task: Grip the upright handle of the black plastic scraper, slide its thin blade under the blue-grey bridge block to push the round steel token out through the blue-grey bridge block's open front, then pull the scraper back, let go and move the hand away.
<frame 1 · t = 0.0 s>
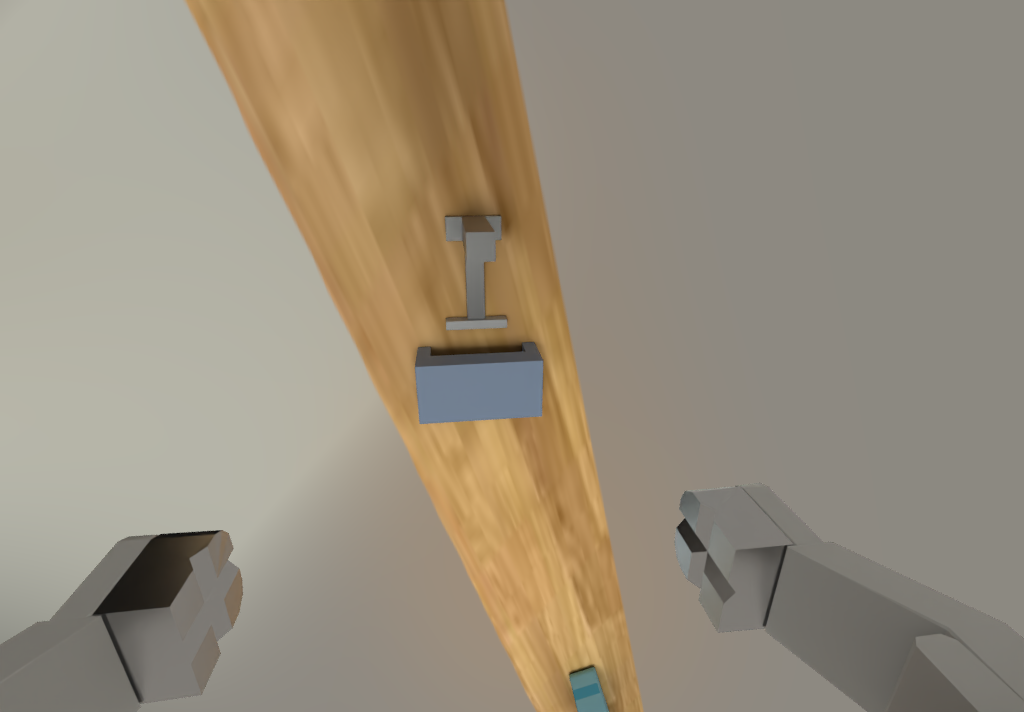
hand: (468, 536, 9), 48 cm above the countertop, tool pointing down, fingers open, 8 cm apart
blue-grey bridge block: (477, 371, 60), on the countertop
data package: (587, 686, 85), on the countertop
scraper: (473, 227, 54), on the countertop
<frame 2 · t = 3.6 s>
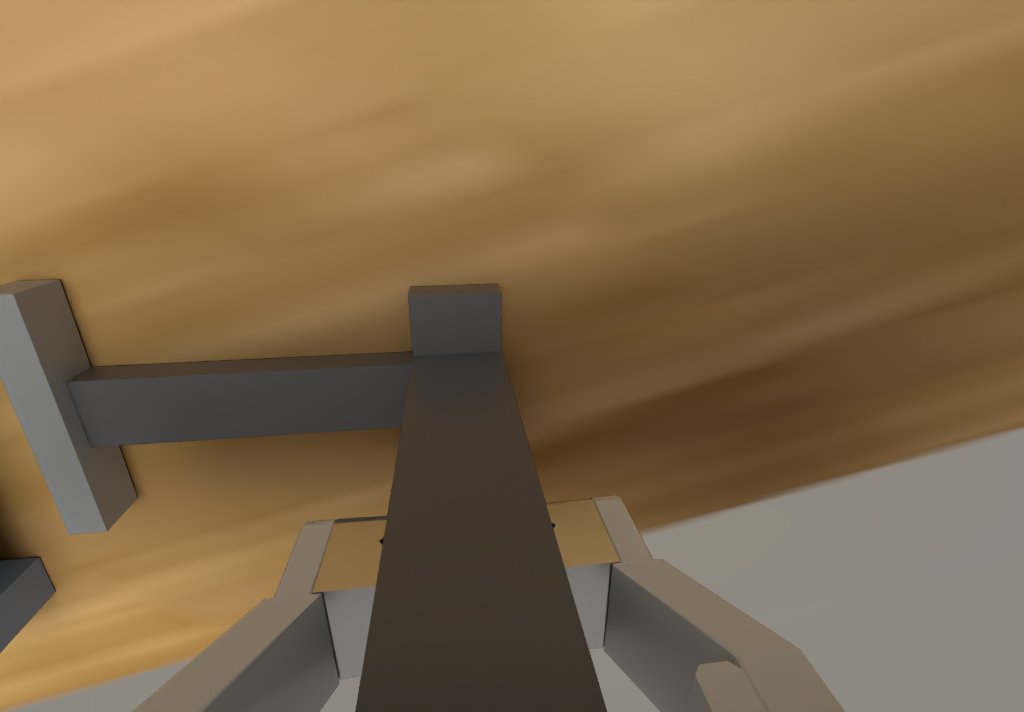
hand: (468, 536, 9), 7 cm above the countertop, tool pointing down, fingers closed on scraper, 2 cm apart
scraper: (458, 379, 15), on the countertop, touching gripper
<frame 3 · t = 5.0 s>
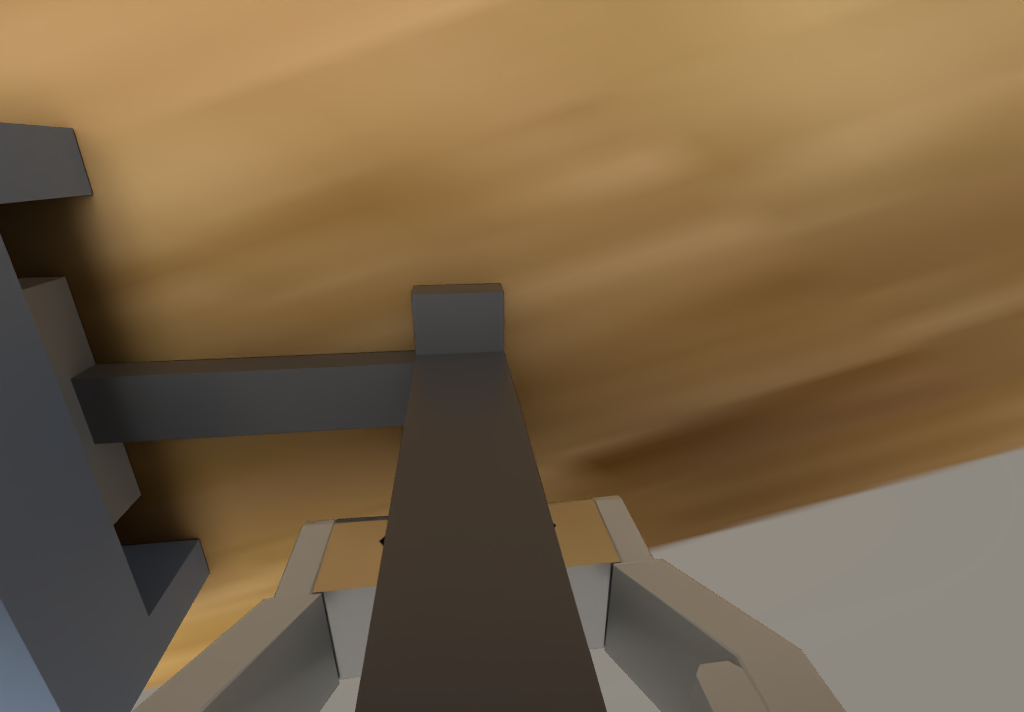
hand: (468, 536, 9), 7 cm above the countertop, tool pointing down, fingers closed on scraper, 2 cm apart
blue-grey bridge block: (21, 398, 14), on the countertop
scraper: (461, 378, 15), on the countertop, touching gripper, steel token
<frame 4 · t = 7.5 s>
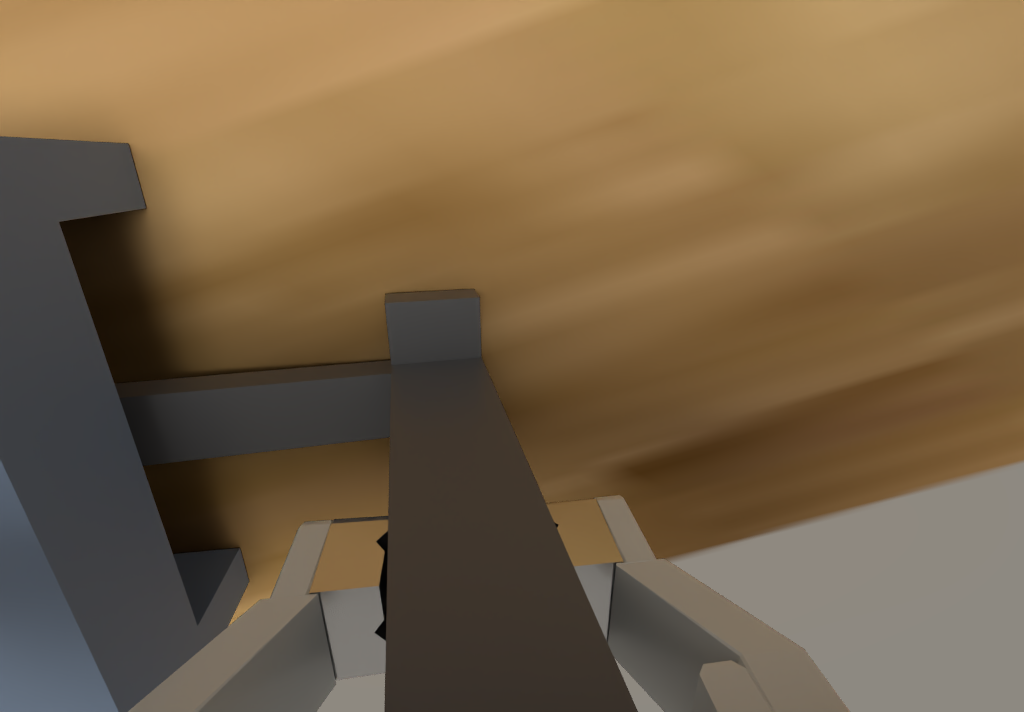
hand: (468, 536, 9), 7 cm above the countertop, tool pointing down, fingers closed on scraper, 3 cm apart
blue-grey bridge block: (70, 409, 14), on the countertop
scraper: (437, 386, 15), on the countertop, tilted 6°, touching gripper
when the fingers open (7 cm above the countertop, at t = 8.7 s): scraper stays where it is, on the countertop.
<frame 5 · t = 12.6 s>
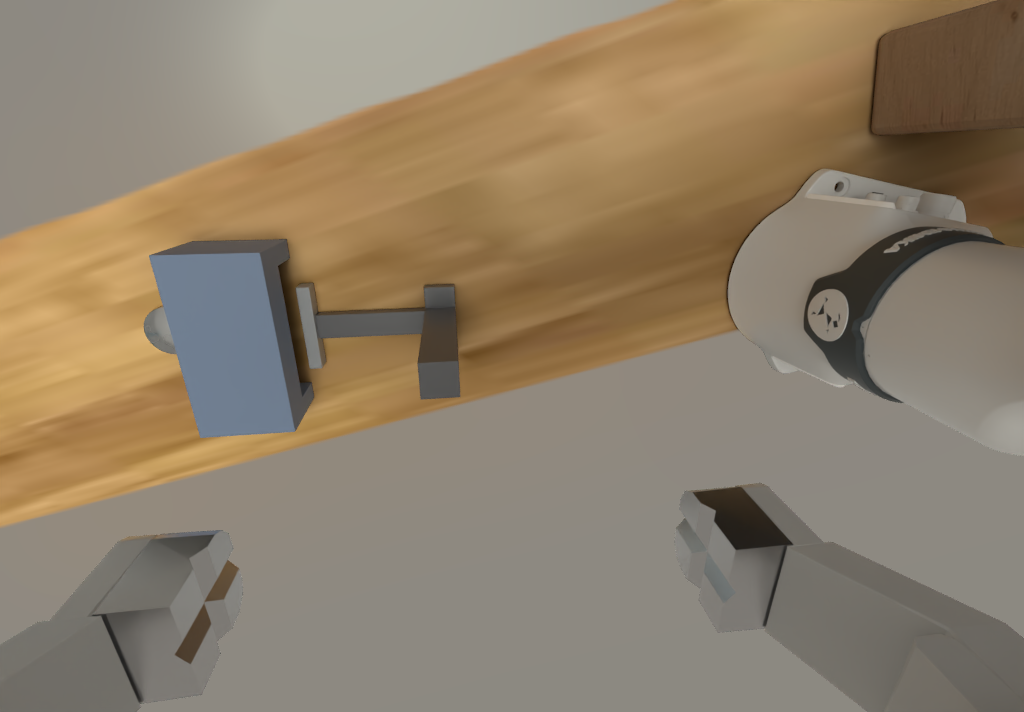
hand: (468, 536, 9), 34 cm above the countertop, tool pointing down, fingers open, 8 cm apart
decorative block: (954, 70, 40), on the countertop
blue-grey bridge block: (257, 325, 41), on the countertop
steel token: (177, 327, 40), on the countertop
scraper: (441, 318, 43), on the countertop
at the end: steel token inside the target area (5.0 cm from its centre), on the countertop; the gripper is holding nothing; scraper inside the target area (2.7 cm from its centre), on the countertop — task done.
